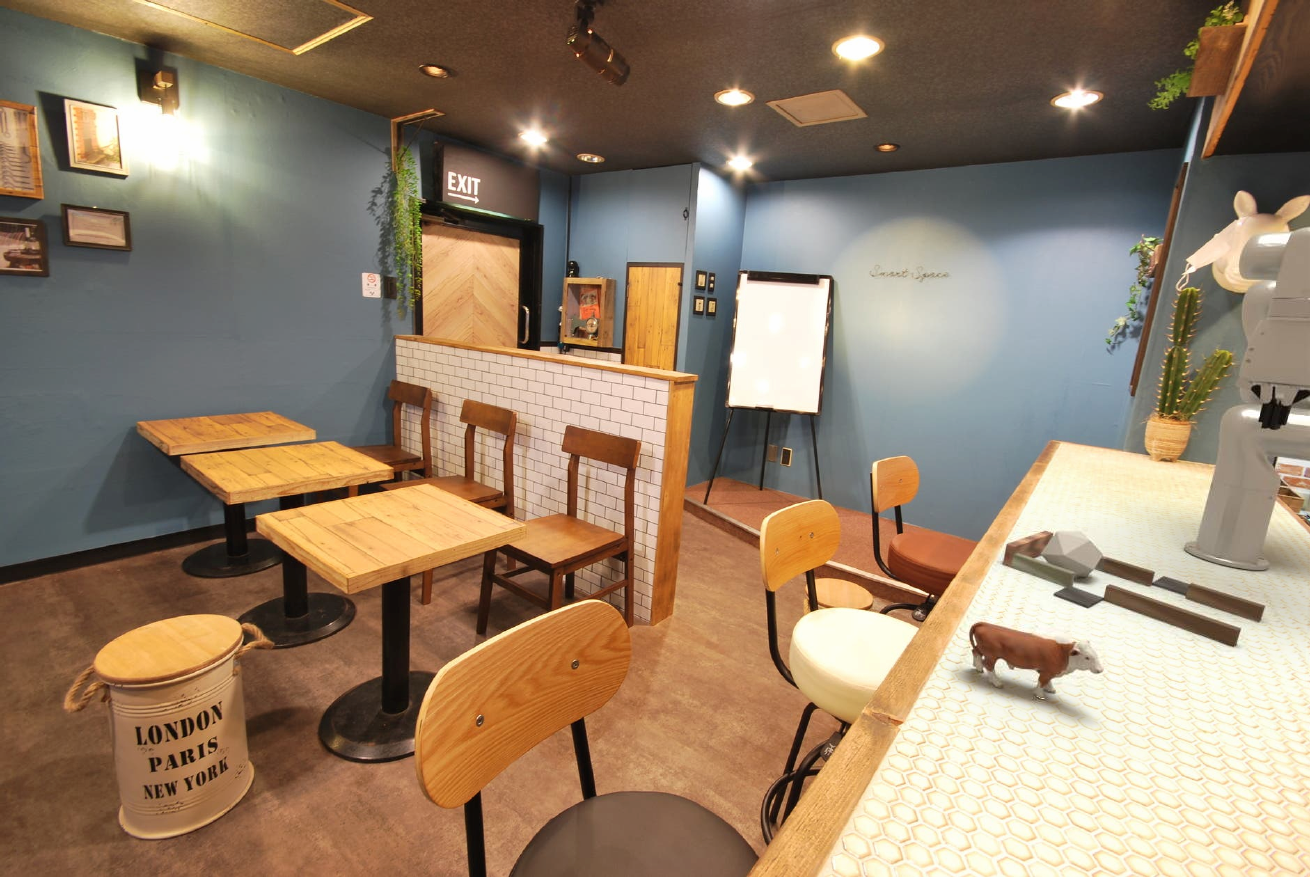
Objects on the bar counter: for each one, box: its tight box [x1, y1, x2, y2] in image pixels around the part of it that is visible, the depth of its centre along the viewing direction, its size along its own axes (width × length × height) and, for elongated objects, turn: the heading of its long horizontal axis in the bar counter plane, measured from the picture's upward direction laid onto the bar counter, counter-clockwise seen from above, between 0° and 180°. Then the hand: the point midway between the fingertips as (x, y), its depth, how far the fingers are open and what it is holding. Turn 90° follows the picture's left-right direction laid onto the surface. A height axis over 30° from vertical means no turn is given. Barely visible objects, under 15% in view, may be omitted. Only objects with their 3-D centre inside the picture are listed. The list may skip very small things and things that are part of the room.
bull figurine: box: [968, 621, 1104, 698], centre depth 70 cm, size 4×13×8 cm, turn 58°
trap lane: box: [1002, 530, 1266, 647], centre depth 101 cm, size 28×32×4 cm
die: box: [1041, 530, 1104, 578], centre depth 106 cm, size 8×9×10 cm
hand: (1270, 428), depth 94 cm, fingers closed
